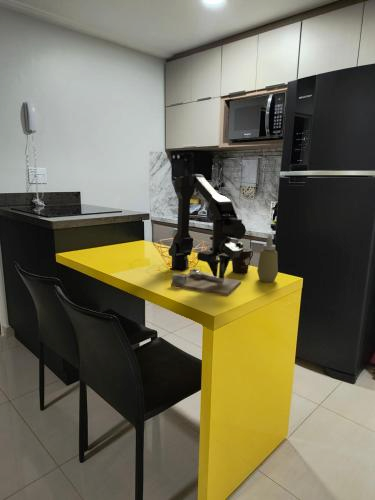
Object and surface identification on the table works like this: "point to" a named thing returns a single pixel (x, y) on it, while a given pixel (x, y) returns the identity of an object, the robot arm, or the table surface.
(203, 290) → the base
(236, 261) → the coffee mug
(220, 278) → the lever
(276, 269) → the squeeze bottle
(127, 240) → the table surface
